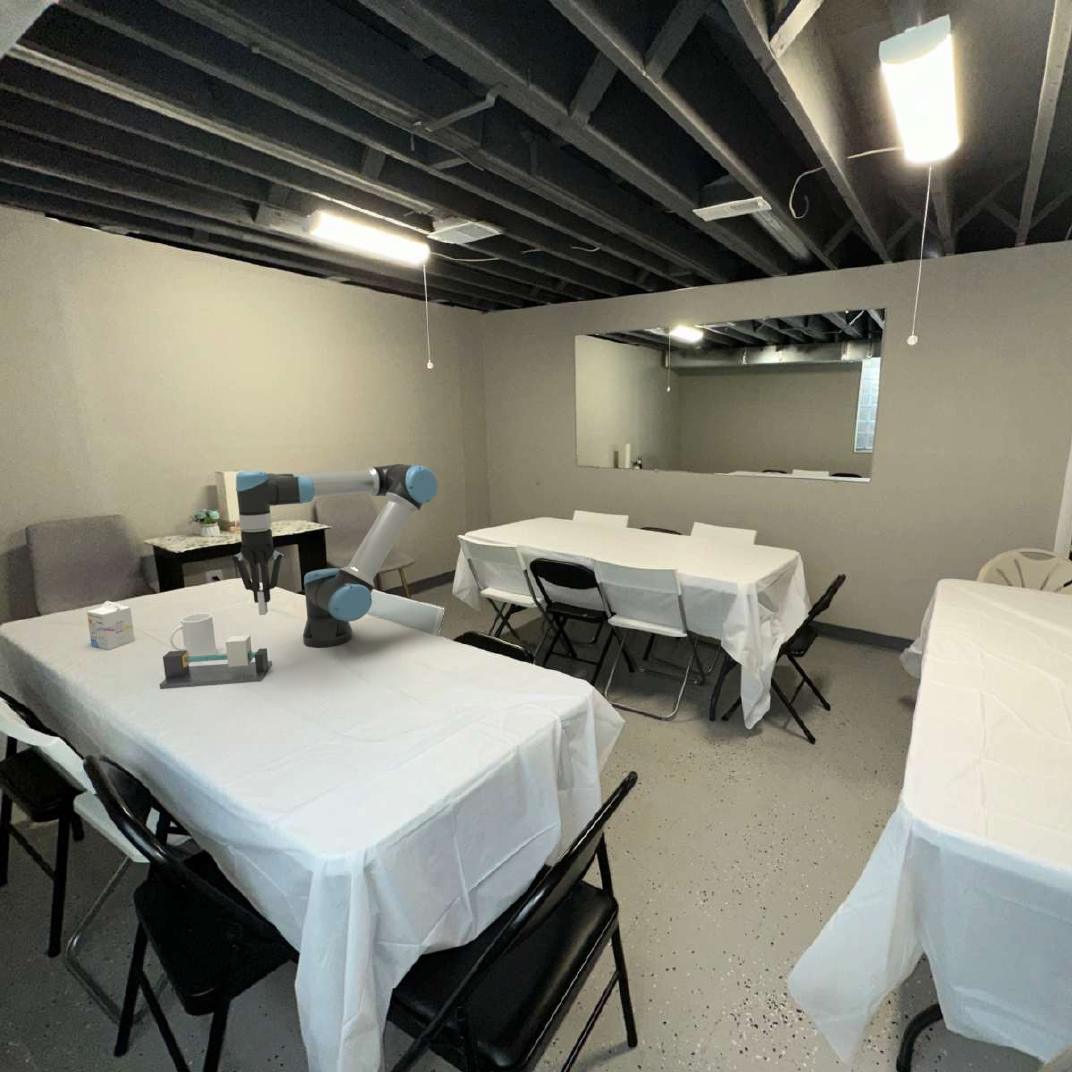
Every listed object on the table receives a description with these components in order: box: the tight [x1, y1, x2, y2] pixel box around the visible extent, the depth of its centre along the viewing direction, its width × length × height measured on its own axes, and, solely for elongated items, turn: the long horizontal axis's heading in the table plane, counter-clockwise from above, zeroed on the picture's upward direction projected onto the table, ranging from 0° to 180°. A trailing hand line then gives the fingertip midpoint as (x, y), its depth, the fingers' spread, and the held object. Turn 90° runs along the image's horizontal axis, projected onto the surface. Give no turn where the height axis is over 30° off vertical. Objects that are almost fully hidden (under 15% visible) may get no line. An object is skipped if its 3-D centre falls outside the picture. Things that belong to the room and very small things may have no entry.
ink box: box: [86, 600, 136, 651], centre depth 180 cm, size 9×8×13 cm
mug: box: [169, 612, 218, 656], centre depth 170 cm, size 12×8×12 cm
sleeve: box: [225, 634, 254, 667], centre depth 157 cm, size 5×4×7 cm
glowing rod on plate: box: [159, 647, 273, 689], centre depth 157 cm, size 25×11×7 cm, turn 100°
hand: (263, 613), depth 156 cm, fingers closed
